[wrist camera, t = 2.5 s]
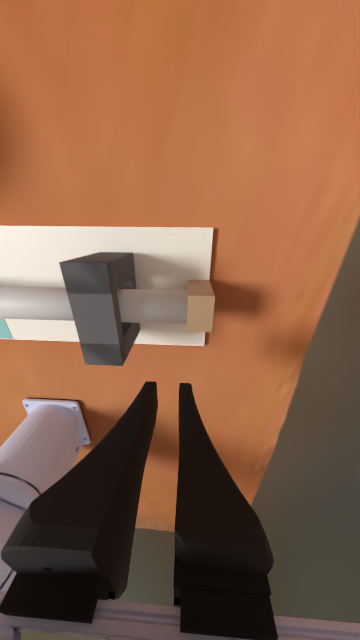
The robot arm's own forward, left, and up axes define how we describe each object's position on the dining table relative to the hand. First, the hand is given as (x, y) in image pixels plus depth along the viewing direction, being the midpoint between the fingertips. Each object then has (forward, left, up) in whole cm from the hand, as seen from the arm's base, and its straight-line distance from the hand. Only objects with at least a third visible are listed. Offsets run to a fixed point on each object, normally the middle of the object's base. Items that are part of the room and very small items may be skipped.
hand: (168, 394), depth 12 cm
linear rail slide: (+3, +13, -10) cm, 17 cm away
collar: (+3, +6, -10) cm, 12 cm away
